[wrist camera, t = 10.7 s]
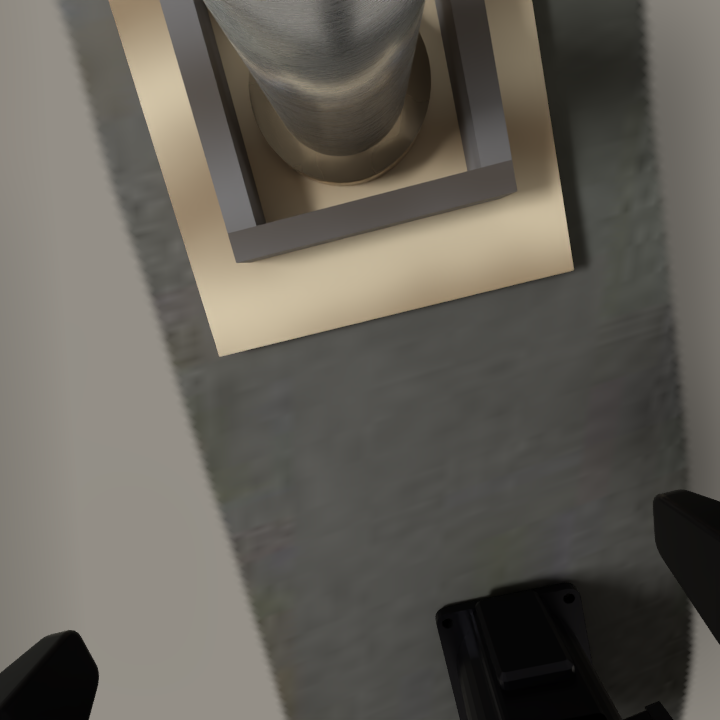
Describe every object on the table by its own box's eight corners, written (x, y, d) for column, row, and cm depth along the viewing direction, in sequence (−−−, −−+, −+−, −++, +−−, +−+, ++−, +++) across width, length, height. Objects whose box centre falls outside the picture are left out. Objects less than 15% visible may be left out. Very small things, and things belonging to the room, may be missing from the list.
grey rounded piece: (443, 161, 18) (632, -94, 5) (284, 205, 18) (70, 78, 5) (404, -22, 16) (518, -996, 4) (235, 29, 17) (-188, -678, 4)
